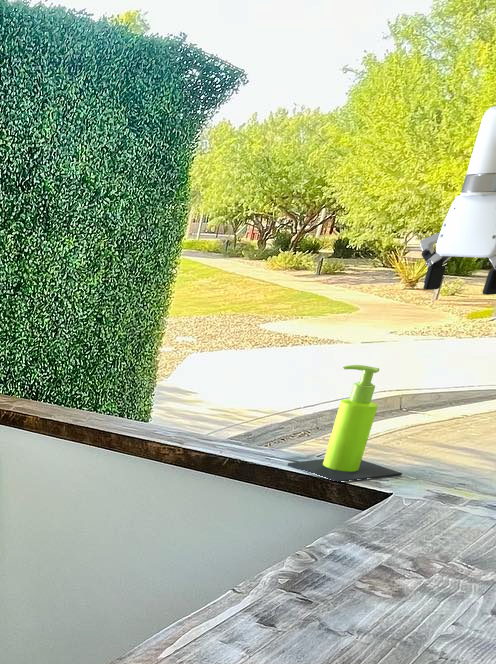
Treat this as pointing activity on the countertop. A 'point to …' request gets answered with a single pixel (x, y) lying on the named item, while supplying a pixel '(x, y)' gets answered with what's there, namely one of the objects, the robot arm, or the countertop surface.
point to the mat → (363, 472)
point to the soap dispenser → (352, 424)
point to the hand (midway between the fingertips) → (459, 291)
